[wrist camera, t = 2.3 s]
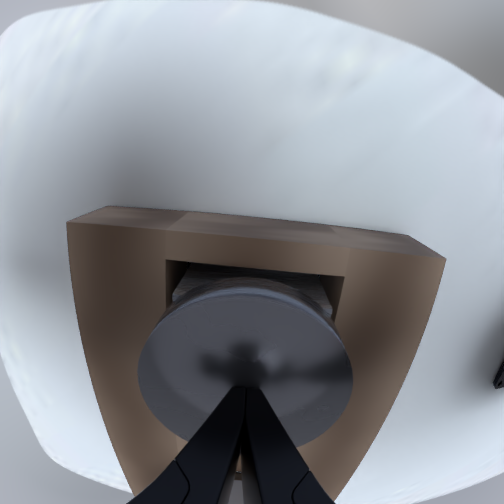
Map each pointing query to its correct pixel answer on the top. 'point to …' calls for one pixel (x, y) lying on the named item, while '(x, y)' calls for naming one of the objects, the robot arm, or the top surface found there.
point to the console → (250, 256)
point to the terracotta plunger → (236, 493)
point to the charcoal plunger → (246, 350)
